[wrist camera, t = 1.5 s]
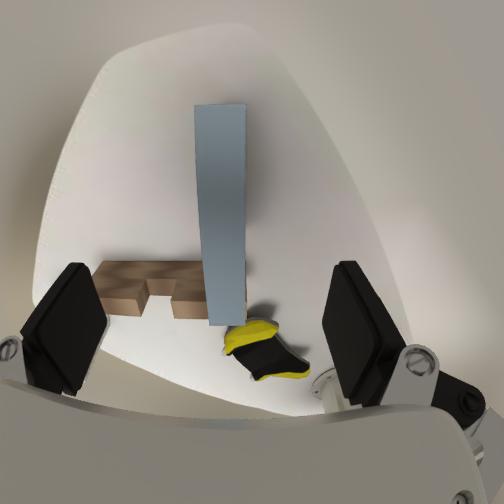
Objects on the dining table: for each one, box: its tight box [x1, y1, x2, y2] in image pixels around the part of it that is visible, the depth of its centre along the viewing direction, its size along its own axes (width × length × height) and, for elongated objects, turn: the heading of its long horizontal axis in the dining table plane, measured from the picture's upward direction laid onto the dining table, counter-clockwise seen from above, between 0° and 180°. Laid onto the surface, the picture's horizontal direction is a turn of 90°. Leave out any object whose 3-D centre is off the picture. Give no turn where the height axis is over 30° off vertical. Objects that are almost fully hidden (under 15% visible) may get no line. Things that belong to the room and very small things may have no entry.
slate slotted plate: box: [194, 104, 246, 326], centre depth 22 cm, size 14×2×16 cm, turn 179°
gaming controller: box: [222, 317, 310, 381], centre depth 40 cm, size 15×6×10 cm
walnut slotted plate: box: [92, 261, 247, 319], centre depth 31 cm, size 20×2×8 cm, turn 89°
